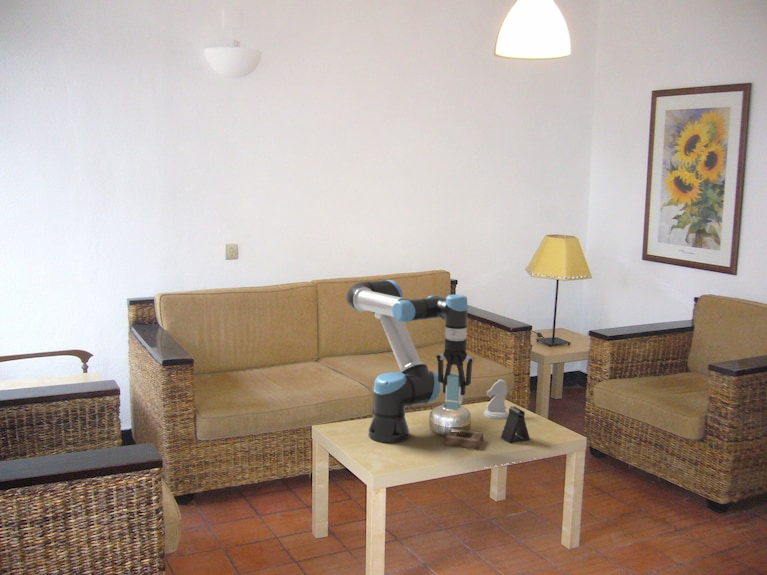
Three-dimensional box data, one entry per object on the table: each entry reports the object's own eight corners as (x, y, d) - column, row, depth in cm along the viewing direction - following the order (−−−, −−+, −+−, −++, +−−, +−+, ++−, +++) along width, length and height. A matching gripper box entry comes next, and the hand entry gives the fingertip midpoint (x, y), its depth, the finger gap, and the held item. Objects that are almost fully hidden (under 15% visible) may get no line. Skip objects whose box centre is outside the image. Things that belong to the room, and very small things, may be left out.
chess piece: (482, 411, 325) (484, 376, 323) (506, 411, 326) (507, 376, 323) (485, 419, 316) (487, 383, 313) (510, 419, 316) (512, 383, 313)
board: (444, 444, 286) (445, 437, 285) (451, 436, 295) (451, 428, 295) (477, 449, 282) (477, 441, 282) (483, 440, 291) (483, 432, 291)
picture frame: (520, 435, 298) (522, 404, 296) (529, 440, 293) (531, 409, 291) (500, 438, 294) (502, 407, 292) (509, 443, 289) (511, 412, 287)
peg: (446, 408, 280) (447, 375, 278) (449, 405, 283) (450, 373, 282) (457, 410, 278) (458, 377, 276) (460, 406, 282) (461, 374, 280)
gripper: (429, 338, 277) (427, 402, 280) (476, 343, 270) (473, 408, 274) (436, 334, 284) (434, 397, 287) (482, 339, 277) (479, 402, 281)
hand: (453, 402), depth 281 cm, fingers closed on peg, 4 cm apart
